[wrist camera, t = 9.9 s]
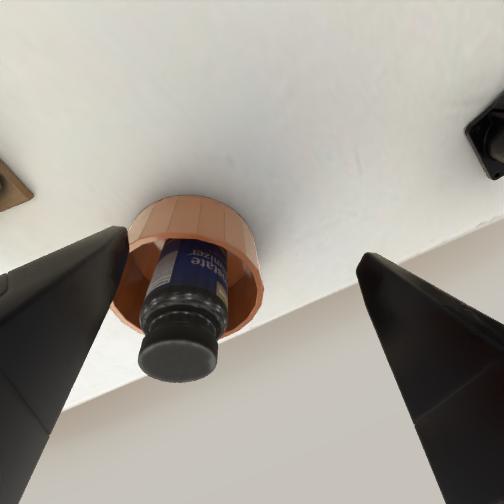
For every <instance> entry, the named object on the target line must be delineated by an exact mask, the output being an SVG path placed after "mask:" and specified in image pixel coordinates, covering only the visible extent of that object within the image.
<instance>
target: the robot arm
mask: <svg viewBox="0 0 504 504" xmlns="http://www.w3.org/2000/svg"><path fill="white" fill-rule="evenodd" d="M474 128H475V129H474ZM473 129H474V131H473ZM472 131H473V132H472ZM465 134H466V136H467V138H468V140H469V142H470V144H471V146H472V148H473V150H474V152H475V154H476V156H477V157H478V159H479V161H480V163H481V165H482V167H483V169H484V171H485V173H486V175H487V177H488V178H489V179H492V180H497V179H499V178H500V177H502V176H503V175H504V96H503V97H501V98H500V99H499V100H498V101H497V102H495V103H494V104H493V105H492V106H491V107H489V108H488V109H487V110H486V111H485V112H484V113H482V114H481V115H480V116H479V117H478V118H476V119H475V120H474V121H473V122H472V123H471V124H469V125H468V126H467V128H466V130H465ZM128 255H129V239H128V232H127V229H126V228H125V227H120V226H112V227H109V228H107V229H105V230H102V231H100V232H98V233H96V234H93V235H91V236H89V237H87V238H84V239H82V240H80V241H77V242H75V243H73V244H71V245H68V246H66V247H64V248H62V249H59V250H57V251H55V252H53V253H50V254H48V255H46V256H43V257H41V258H39V259H37V260H34V261H32V262H30V263H28V264H25V265H23V266H21V267H18V268H16V269H14V270H12V271H9V272H8V274H6V273H5V274H2V275H0V504H18V503H19V501H20V499H21V497H22V495H23V493H24V491H25V488H26V486H27V484H28V482H29V480H30V478H31V475H32V473H33V471H34V469H35V467H36V465H37V463H38V460H39V458H40V456H41V454H42V452H43V449H44V447H45V445H46V443H47V441H48V439H49V435H50V434H51V432H52V430H53V428H54V426H55V423H56V421H57V419H58V417H59V415H60V413H61V411H62V408H63V406H64V404H65V402H66V400H67V398H68V396H69V393H70V391H71V389H72V387H73V385H74V383H75V381H76V378H77V376H78V374H79V372H80V370H81V368H82V365H83V363H84V361H85V359H86V357H87V355H88V353H89V350H90V348H91V346H92V344H93V342H94V340H95V338H96V335H97V333H98V331H99V329H100V327H101V325H102V322H103V320H104V318H105V316H106V314H107V312H108V310H109V307H110V305H111V303H112V301H113V299H114V297H115V294H116V292H117V290H118V287H119V284H120V281H121V277H122V274H123V271H124V268H125V265H126V261H127V258H128ZM356 275H357V278H358V282H359V285H360V289H361V292H362V295H363V299H364V302H365V306H366V308H367V311H368V313H369V316H370V318H371V321H372V323H373V326H374V328H375V330H376V333H377V335H378V338H379V340H380V343H381V345H382V348H383V350H384V353H385V355H386V357H387V360H388V362H389V365H390V367H391V370H392V372H393V374H394V377H395V380H396V382H397V384H398V387H399V389H400V391H401V394H402V397H403V399H404V402H405V404H406V406H407V409H408V411H409V414H410V416H411V419H412V421H413V423H414V424H415V429H416V431H417V434H418V436H419V439H420V441H421V444H422V446H423V449H424V451H425V453H426V456H427V458H428V461H429V463H430V466H431V468H432V471H433V473H434V475H435V478H436V481H437V483H438V485H439V488H440V490H441V493H442V495H443V498H444V500H445V503H446V504H504V325H503V324H501V323H500V322H498V321H496V320H494V319H492V318H491V317H489V316H487V315H485V314H483V313H482V312H480V311H478V310H476V309H474V308H473V307H471V306H469V305H466V304H465V303H463V302H462V301H460V300H458V299H457V298H455V297H453V296H451V295H450V294H448V293H446V292H444V291H442V290H441V289H439V288H437V287H435V286H434V285H432V284H430V283H428V282H426V281H425V280H423V279H421V278H419V277H418V276H416V275H414V274H412V273H411V272H409V271H407V270H405V269H403V268H402V267H400V266H398V265H396V264H395V263H393V262H391V261H389V260H388V259H386V258H384V257H382V256H381V255H379V254H377V253H370V252H367V253H365V254H364V255H363V257H362V259H361V261H360V263H359V264H358V266H357V269H356Z"/></svg>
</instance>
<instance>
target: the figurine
mask: <svg viewBox="0 0 504 504" xmlns="http://www.w3.org/2000/svg"><path fill="white" fill-rule="evenodd" d="M33 197H34V196H33V195H32V193H31V192H30V191H29V190H28V189H27V188H26V187H25V186H24V185H23V184H22V183H21V181H20V180H19V179H18V178H17V177H16V176H15V175H14V174H13V173H12V172H11V171H10V169H9V168H8V167H7V166H6V165H5V164H4V163H3V162H2V161H1V160H0V212H2V211H4V210H6V209H9V208H12V207H14V206H16V205H19V204H21V203H24V202H26V201H29V200H30V199H32V198H33Z"/></svg>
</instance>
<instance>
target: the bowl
mask: <svg viewBox="0 0 504 504" xmlns="http://www.w3.org/2000/svg"><path fill="white" fill-rule="evenodd" d="M127 232H128V239H129V255H128V258H127V261H126V265H125V268H124V271H123V274H122V277H121V281H120V284H119V287H118V290H117V292H116V294H115V297H114V299H113V301H112V303H111V305H110V307H109V308H110V309H111V310H112V311H113V312H114V314H115V315H116V316H117V317H118V318H119V319H120V321H122V322H123V323H124V324H126V325H127V326H129V327H130V328H132V329H134V330H135V331H137V332H138V333H140V334H143V335H145V334H144V333H143V331H142V329H141V327H140V321H139V316H140V311H141V308H142V305H143V302H144V299H145V297H146V294H147V291H148V288H149V285H150V282H151V280H152V277H153V274H154V271H155V268H156V265H157V262H158V259H159V257H160V254H161V251H162V248H163V246H164V244H165V243H166V242H167V241H168V240H169V239H170V238H178V239H198V240H201V241H205V242H208V243H212V244H215V245H219V246H222V247H223V248H225V250H226V253H227V276H228V324H227V327H226V330H225V332H224V333H223V335H222V336H221V338H220V339H222V338H224V337H226V336H228V335H230V334H233V333H235V332H237V331H239V330H240V329H241V328H242V327H244V326H245V325H246V324H247V323H249V322H250V321H251V320H252V319H253V317H254V316H255V314H256V313H257V311H258V310H259V308H260V306H261V303H262V297H263V291H264V286H263V281H262V276H261V271H260V265H259V260H258V255H257V249H256V246H255V241H254V238H253V234H252V232H251V230H250V228H249V226H248V225H247V223H246V222H245V221H244V219H243V218H242V217H241V216H240V215H239V214H238V213H236V212H235V211H234V210H233V209H231V208H230V207H228V206H227V205H225V204H223V203H221V202H219V201H216V200H213V199H210V198H207V197H202V196H195V195H179V196H173V197H168V198H165V199H161V200H159V201H157V202H155V203H153V204H151V205H150V206H148V207H147V208H145V209H144V210H143V211H142V212H141V213H140V214H139V215H138V216H137V217H136V219H135V220H134V222H133V223H132V225H131V226H130V228H129V229H128V231H127Z"/></svg>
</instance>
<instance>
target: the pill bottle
mask: <svg viewBox="0 0 504 504" xmlns="http://www.w3.org/2000/svg"><path fill="white" fill-rule="evenodd" d="M139 321H140V327H141V329H142V331H143V333H144V334H145V337H144V339H143V341H142V345H141V349H140V352H139V357H138V364H139V366H140V368H141V370H142V371H143V372H144V373H146V374H147V375H148V376H150V377H152V378H154V379H158V380H161V381H165V382H173V383H176V382H178V383H183V382H191V381H196V380H198V379H201V378H204V377H205V376H207V375H209V374H210V373H211V372H212V371H213V370H214V369H215V367H216V364H217V354H218V343H217V341H218V340H219V339H220V338H221V336H222V335H223V333H224V332H225V330H226V327H227V324H228V276H227V253H226V250H225V248H223V247H222V246H219V245H215V244H212V243H208V242H205V241H201V240H198V239H178V238H170V239H169V240H168V241H167V242H166V243H165V244H164V246H163V248H162V251H161V254H160V257H159V259H158V262H157V265H156V268H155V271H154V274H153V277H152V280H151V282H150V285H149V288H148V291H147V294H146V297H145V299H144V302H143V305H142V308H141V311H140V316H139Z"/></svg>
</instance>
